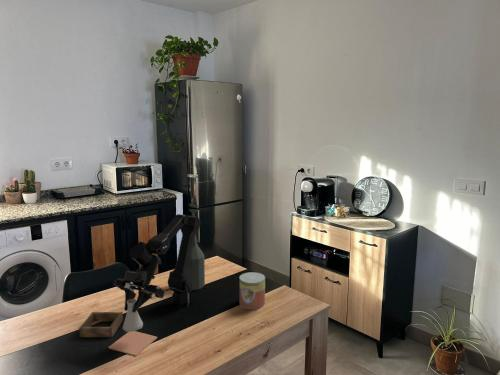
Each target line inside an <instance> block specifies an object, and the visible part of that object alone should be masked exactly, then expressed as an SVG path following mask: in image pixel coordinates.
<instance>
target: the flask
mask: <svg viewBox="0 0 500 375" xmlns="http://www.w3.org/2000/svg"><path fill="white" fill-rule="evenodd" d="M136 300H137V299H135V298H134V299H129V300H127V304H128V309H127V311H126V315H125V318H124V320H123V321H124V322H123V326H122V330H123V331H124V332H126V333H128V332H129V331H136V332H137V331H138V330H141V329H142V328H143V326H144V322H143V320H142V317H140V314H139V312H138V310H137V311H136V312H135V313H133V312H132V310H133V307H134V305H135V303H136Z"/></svg>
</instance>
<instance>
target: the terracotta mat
mask: <svg viewBox="0 0 500 375" xmlns="http://www.w3.org/2000/svg"><path fill="white" fill-rule="evenodd" d="M157 339H158V336H155V335H151V334H148V333H143V332H139V331H137V330H136V331H129V332H126V333H125V334H124V335H122V336H121V337H120V338H119V339H117V340H116V341H115V342H113V343H112V344H111V345H109V346H108V347H107V348H108V349H109V350H112V351H117V352H120V353H124V354H127V355H131V356H134V357H137V356H138V355H140V354H141V353H142V352H143V351H144V350H145V349H146V348H147V347H149V346H150V345H151V344H152V343H153V342H154V341H156V340H157Z"/></svg>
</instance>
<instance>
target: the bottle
mask: <svg viewBox="0 0 500 375" xmlns="http://www.w3.org/2000/svg"><path fill="white" fill-rule="evenodd" d="M205 270H206V268H205V254H204V253H203V250H202V249H201V248H200V247H199V245H198V239H197V234H196V235H195V236H194V237H193V242H192V246H191V251H190V256H189V261H188V266H187V272H188V275H189V282H190V283H191V284H192V285H193V287H192V290H191V291H198V290H201V289H203V288H204V286H205V284H206V276H205V275H206V274H205Z"/></svg>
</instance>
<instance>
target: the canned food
mask: <svg viewBox="0 0 500 375" xmlns="http://www.w3.org/2000/svg"><path fill="white" fill-rule="evenodd" d="M238 278H239V305H240V307H242V308H243V309H248V310H258V309H261V308H263V307H264V306H265V304H266V276H265V275H264V274H263V273H260V272H253V271H251V272H250V271H249V272H244V273H241V275H239V277H238Z"/></svg>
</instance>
